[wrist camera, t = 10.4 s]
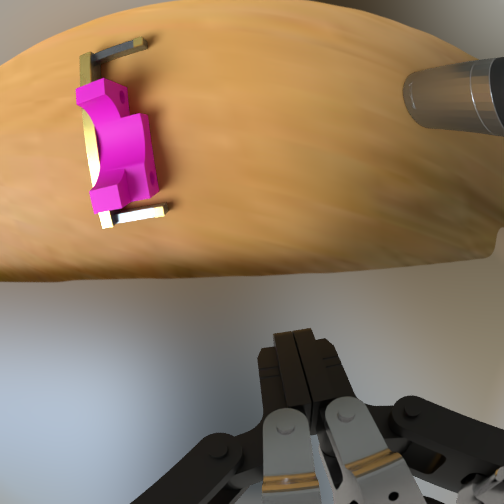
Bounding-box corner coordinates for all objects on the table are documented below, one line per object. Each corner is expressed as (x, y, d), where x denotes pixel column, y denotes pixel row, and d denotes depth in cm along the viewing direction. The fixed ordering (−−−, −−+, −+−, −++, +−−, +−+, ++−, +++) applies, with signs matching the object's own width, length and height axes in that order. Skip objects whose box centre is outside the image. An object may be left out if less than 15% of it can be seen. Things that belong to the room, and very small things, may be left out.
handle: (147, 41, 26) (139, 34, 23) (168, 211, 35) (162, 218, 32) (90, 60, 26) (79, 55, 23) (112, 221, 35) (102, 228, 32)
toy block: (159, 190, 34) (142, 204, 28) (118, 199, 34) (94, 213, 27) (145, 82, 28) (124, 70, 22) (103, 95, 28) (75, 88, 21)
